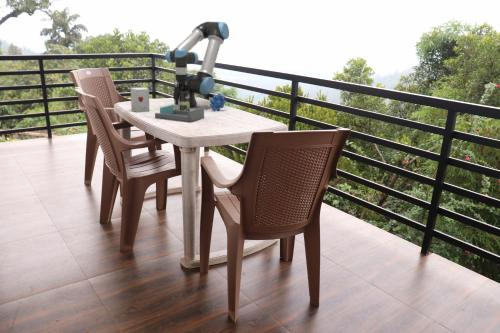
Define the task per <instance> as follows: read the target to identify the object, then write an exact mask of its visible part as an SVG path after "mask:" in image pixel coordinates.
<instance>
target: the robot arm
mask: <svg viewBox="0 0 500 333" xmlns="http://www.w3.org/2000/svg"><path fill="white" fill-rule="evenodd" d="M229 37H230V28H229V26H228V24H227V23H226V22H225V21H204V22H201V23H200V24H198V26H196V27H194V28H193V29H192V31H191V33H190V34H189V35H188V36H187V37H186V38H185V39H184V40H183V41H182V42H181V43H179V44H178V45H177V46H175V48H174V49H173V50H168V51H166V53H165V56H164V57H165V61H167V62H168V63H172V64H175V66H174V67H175V72H174V74H175V75H174V76H175V81H176V82H175V83H174V86H173V88H174V89H173V93H172V94H173V95H172V99H173V100H174V99H175V106H176V109H177V110H180V100H179V93H178V92H181V90H183V91H190V92H189V103H190V109H191V108H197V107H198V102H197V99H196V97H195V96H196V95H195V94H203V95H204V94H205V95H208V94H211V93H212V92H213V90H214V88H215V84H216V83H215V79H214V76H213V71H214V68H215V65H216V62H217V58H218V55H219V51H220V47H221V45H223V44H224V42H225V40H227V39H228V38H229ZM205 39H207V40H208V43H207V46H206V49H205V53H204V57H203V60H202V64H201V66H200V70H198V71H197V72H196V74H195V73H188V65H195V64H197V63H198V62H199V55H198V53H196V52H195V51H191V50H192V49H193V48H194V47H195V46H196V45H198V43H199V42H202V41H204V40H205Z"/></svg>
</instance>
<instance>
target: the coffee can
mask: <svg viewBox="0 0 500 333" xmlns="http://www.w3.org/2000/svg"><path fill="white" fill-rule="evenodd" d="M189 92H190V91H183V90H181V92H178V93H179V100H180V110H181V111H191V110H190V109H191V108H190V103H189ZM173 105H174V110H177V109H176V106H175V99H173Z"/></svg>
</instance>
